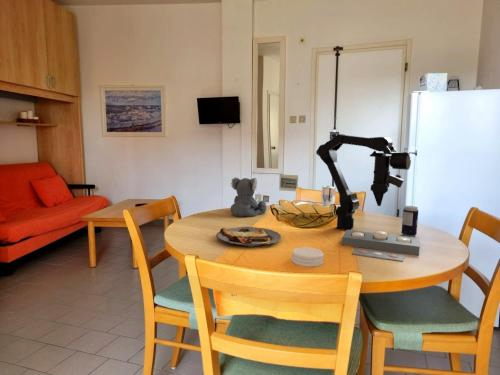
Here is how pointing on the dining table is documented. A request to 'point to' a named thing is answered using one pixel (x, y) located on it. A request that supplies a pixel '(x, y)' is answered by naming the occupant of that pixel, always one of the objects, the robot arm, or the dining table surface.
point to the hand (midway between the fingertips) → (379, 205)
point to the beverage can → (409, 221)
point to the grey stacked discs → (307, 257)
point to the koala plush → (246, 198)
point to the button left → (358, 234)
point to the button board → (381, 242)
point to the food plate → (248, 236)
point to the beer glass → (328, 195)
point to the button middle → (380, 235)
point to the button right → (403, 240)
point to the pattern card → (378, 254)
